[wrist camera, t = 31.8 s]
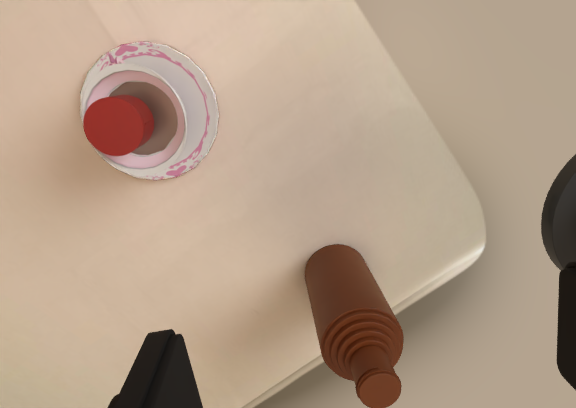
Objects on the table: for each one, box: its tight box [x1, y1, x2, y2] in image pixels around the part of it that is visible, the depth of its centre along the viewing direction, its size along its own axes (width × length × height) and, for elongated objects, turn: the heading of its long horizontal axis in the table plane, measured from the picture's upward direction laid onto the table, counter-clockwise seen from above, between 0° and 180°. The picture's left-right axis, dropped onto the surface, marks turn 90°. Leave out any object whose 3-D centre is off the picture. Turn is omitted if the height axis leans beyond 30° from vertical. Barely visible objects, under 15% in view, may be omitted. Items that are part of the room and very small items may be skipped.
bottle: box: [305, 244, 403, 408], centre depth 36 cm, size 6×6×17 cm
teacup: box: [80, 41, 219, 180], centre depth 35 cm, size 12×12×6 cm
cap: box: [83, 95, 154, 156], centre depth 30 cm, size 4×4×3 cm
